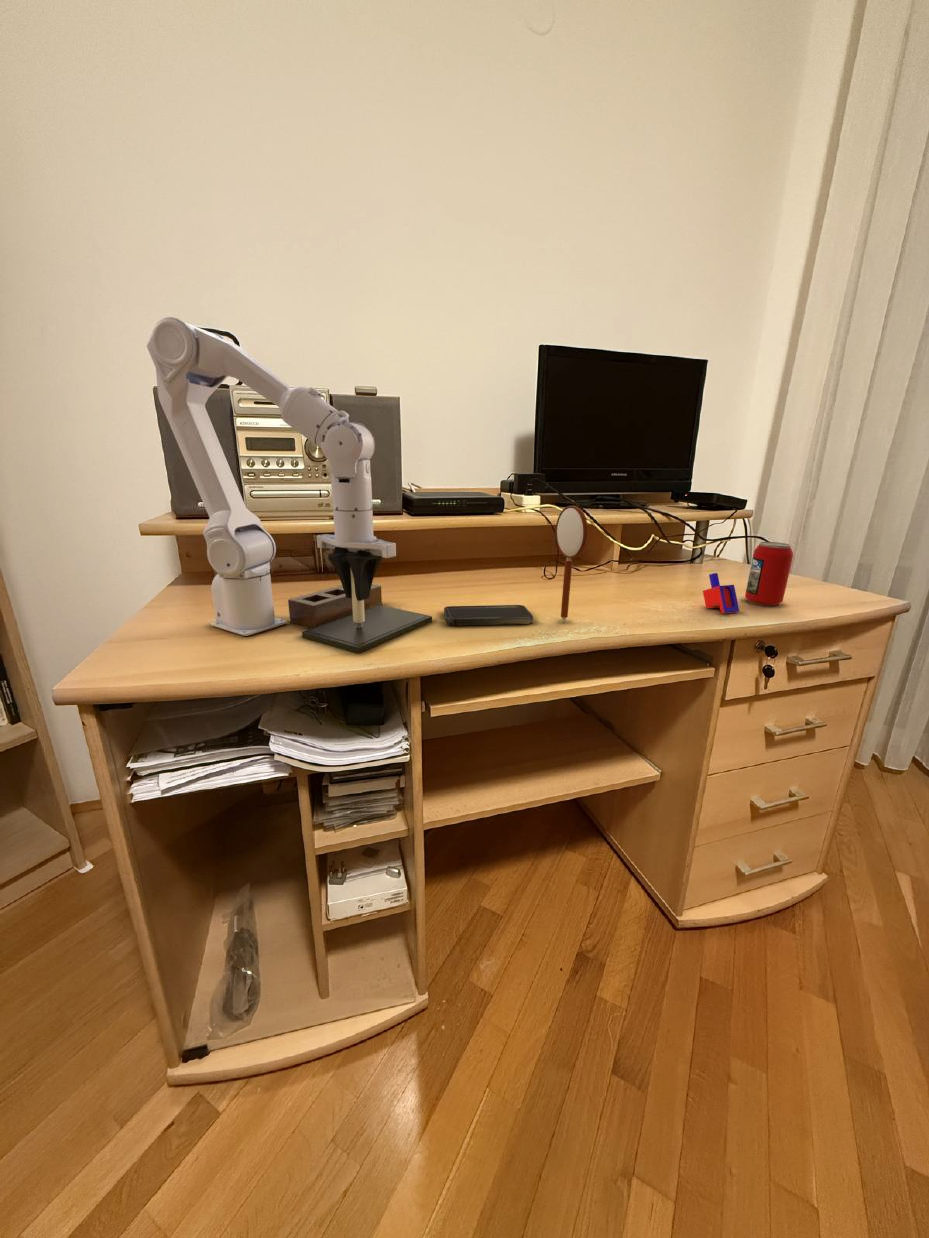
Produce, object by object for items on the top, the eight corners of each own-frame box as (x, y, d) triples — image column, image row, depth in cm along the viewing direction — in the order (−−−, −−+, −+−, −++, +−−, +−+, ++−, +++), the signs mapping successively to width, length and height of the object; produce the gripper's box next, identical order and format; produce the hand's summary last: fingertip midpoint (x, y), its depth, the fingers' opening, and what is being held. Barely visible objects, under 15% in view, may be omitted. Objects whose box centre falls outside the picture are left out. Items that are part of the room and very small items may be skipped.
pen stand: (289, 622, 83) (287, 599, 82) (357, 600, 96) (356, 580, 95) (315, 629, 80) (314, 605, 79) (382, 606, 93) (381, 585, 92)
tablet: (302, 637, 76) (301, 631, 76) (379, 609, 91) (379, 604, 91) (358, 654, 70) (358, 647, 70) (432, 621, 85) (432, 615, 84)
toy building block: (722, 615, 96) (714, 576, 97) (739, 611, 92) (731, 570, 93) (707, 616, 95) (699, 577, 96) (724, 612, 91) (716, 571, 92)
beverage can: (746, 596, 105) (757, 540, 101) (783, 601, 101) (796, 543, 97) (741, 602, 99) (753, 544, 96) (780, 609, 96) (794, 548, 92)
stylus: (351, 627, 78) (347, 559, 74) (359, 624, 79) (355, 557, 76) (359, 629, 77) (356, 560, 74) (367, 626, 78) (364, 559, 75)
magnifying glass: (547, 615, 89) (554, 503, 83) (555, 614, 90) (563, 503, 84) (573, 630, 82) (583, 508, 75) (581, 629, 82) (593, 508, 76)
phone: (443, 606, 89) (523, 604, 91) (443, 612, 90) (523, 610, 92) (447, 619, 82) (534, 617, 84) (447, 626, 82) (534, 623, 84)
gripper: (408, 510, 72) (410, 599, 76) (338, 504, 79) (343, 586, 83) (375, 514, 66) (379, 610, 70) (303, 507, 74) (310, 595, 78)
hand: (357, 598), depth 77 cm, fingers closed on stylus, 2 cm apart
